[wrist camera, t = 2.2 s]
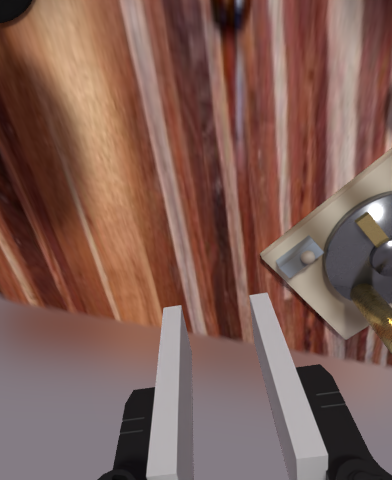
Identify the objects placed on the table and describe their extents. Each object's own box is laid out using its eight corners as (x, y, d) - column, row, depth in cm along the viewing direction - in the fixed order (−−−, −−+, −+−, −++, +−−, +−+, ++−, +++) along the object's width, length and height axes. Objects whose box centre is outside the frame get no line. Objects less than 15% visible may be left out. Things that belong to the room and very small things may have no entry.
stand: (429, 117, 34) (457, 122, 30) (498, 233, 40) (528, 248, 37) (259, 253, 41) (266, 270, 37) (342, 334, 47) (354, 355, 43)
